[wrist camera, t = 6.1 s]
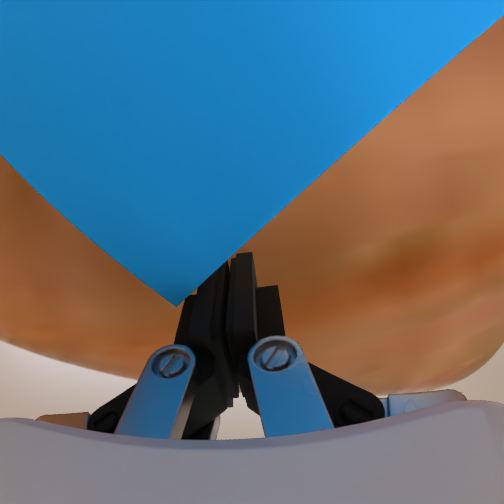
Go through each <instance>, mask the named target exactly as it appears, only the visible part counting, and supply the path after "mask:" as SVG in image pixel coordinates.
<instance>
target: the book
mask: <svg viewBox="0 0 504 504" xmlns="http://www.w3.org/2000/svg"><path fill="white" fill-rule="evenodd" d="M503 15H504V0H0V154H1V155H2V156H3V158H4V159H5V160H6V161H7V162H8V163H9V164H10V165H11V166H12V167H13V168H14V169H15V170H16V171H17V172H18V173H19V174H20V175H21V176H22V177H23V178H24V179H25V180H26V181H27V182H28V183H29V184H30V185H31V186H32V187H33V188H34V189H35V190H36V191H37V192H38V193H39V194H40V195H41V196H42V197H43V198H45V199H46V200H47V201H48V202H49V203H50V204H51V205H52V206H53V207H54V208H55V209H56V210H57V211H59V212H60V213H61V214H62V215H63V216H64V217H65V218H66V219H67V220H68V221H70V222H71V223H72V224H73V225H74V226H75V227H76V228H78V229H79V230H80V231H81V232H82V233H83V234H84V235H86V236H87V237H88V238H89V239H90V240H92V241H93V242H94V243H95V244H96V245H97V246H99V247H100V248H101V249H102V250H103V251H105V252H106V253H107V254H108V255H110V256H111V257H112V258H113V259H114V260H116V261H117V262H118V263H119V264H121V265H122V266H123V267H124V268H126V269H127V270H128V271H130V272H131V273H132V274H133V275H135V276H136V277H137V278H138V279H140V280H141V281H142V282H144V283H145V284H146V285H148V286H149V287H150V288H152V289H153V290H154V291H156V292H157V293H158V294H160V295H161V296H162V297H164V298H165V299H166V300H168V301H169V302H171V303H172V304H173V305H175V306H176V307H177V306H178V305H179V304H180V303H181V302H182V301H183V300H184V299H186V298H187V297H188V296H189V295H190V294H191V293H192V292H193V291H194V290H195V289H196V288H197V287H199V286H200V285H201V284H202V283H203V282H204V281H205V280H206V279H207V278H208V277H209V276H210V275H211V274H213V273H214V272H215V271H216V270H217V269H218V268H219V267H220V266H221V265H222V264H223V263H225V262H226V261H227V260H228V259H229V258H230V257H231V256H232V255H233V254H234V253H235V252H236V251H238V250H239V249H240V248H241V247H242V246H243V245H244V244H245V243H246V242H247V241H248V240H250V239H251V238H252V237H253V236H254V235H255V234H256V233H257V232H258V231H259V230H261V229H262V228H263V227H264V226H265V225H266V224H267V223H268V222H269V221H270V220H272V219H273V218H274V217H275V216H276V215H277V214H278V213H279V212H280V211H281V210H283V209H284V208H285V207H286V206H287V205H288V204H289V203H290V202H291V201H292V200H294V199H295V198H296V197H297V196H298V195H299V194H300V193H301V192H302V191H303V190H305V189H306V188H307V187H308V186H309V185H310V184H311V183H312V182H313V181H315V180H316V179H317V178H318V177H319V176H320V175H321V174H322V173H323V172H325V171H326V170H327V169H328V168H329V167H330V166H331V165H332V164H334V163H335V162H336V161H337V160H338V159H339V158H340V157H341V156H342V155H344V154H345V153H346V152H347V151H348V150H349V149H350V148H351V147H353V146H354V145H355V144H356V143H357V142H358V141H359V140H360V139H362V138H363V137H364V136H365V135H366V134H367V133H368V132H369V131H371V130H372V129H373V128H374V127H375V126H376V125H377V124H378V123H380V122H381V121H382V120H383V119H384V118H385V117H386V116H387V115H389V114H390V113H391V112H392V111H393V110H394V109H395V108H397V107H398V106H399V105H400V104H401V103H402V102H403V101H405V100H406V99H407V98H408V97H409V96H410V95H411V94H413V93H414V92H415V91H416V90H417V89H418V88H419V87H421V86H422V85H423V84H424V83H425V82H426V81H427V80H429V79H430V78H431V77H432V76H433V75H434V74H435V73H437V72H438V71H439V70H440V69H441V68H442V67H444V66H445V65H446V64H447V63H448V62H449V61H450V60H452V59H453V58H454V57H455V56H456V55H457V54H459V53H460V52H461V51H462V50H463V49H464V48H466V47H467V46H468V45H469V44H470V43H471V42H473V41H474V40H475V39H476V38H477V37H478V36H480V35H481V34H482V33H483V32H484V31H486V30H487V29H488V28H489V27H490V26H491V25H493V24H494V23H495V22H496V21H497V20H499V19H500V18H501V17H502V16H503Z"/></svg>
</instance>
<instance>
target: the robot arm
mask: <svg viewBox="0 0 504 504" xmlns="http://www.w3.org/2000/svg"><path fill="white" fill-rule="evenodd" d="M239 385H240V388H241V392H242V395H243V397H245V399H246V403H247V406H248V408H250V409H251V410H252V411H254V412H255V413H257V414H258V415H260V418H261V422H262V426H263V430H264V434H265V438H252V439H234V440H216V438H217V433H218V429H219V425H220V414H221V413H222V412H224V411H225V410H226V409H227V407H233V398H238V397H239ZM0 504H504V404H501V403H498V402H493V401H484V400H467V399H466V397H465V396H464V395H463V394H462V393H461V392H458V391H456V390H450V389H447V390H437V391H428V392H417V393H403V394H389V395H388V397H387V398H378V397H376V396H375V395H373V394H372V393H370V392H368V391H366V390H364V389H361V388H359V387H357V386H355V385H353V384H351V383H349V382H347V381H345V380H343V379H341V378H339V377H336V376H334V375H332V374H330V373H328V372H326V371H324V370H322V369H320V368H318V367H317V366H315V365H313V364H311V363H309V362H307V360H306V357H305V355H304V352H303V350H302V348H301V346H300V345H299V343H298V342H296V341H295V340H294V339H292V338H289V337H286V336H285V330H284V323H283V316H282V310H281V303H280V297H279V290H278V285H275V286H267V287H259V288H258V287H257V280H256V274H255V267H254V260H253V254H252V252H248V253H240V254H237V255H236V258H232V259H231V266H230V271H229V266H228V261H226V262H225V263H223V264H222V265H221V266H220V267H219V268H218V269H217V270H216V271H215V272H214V273H213V274H211V275H210V276H209V277H208V278H207V279H206V280H205V281H204V282H203V283H202V284H201V285H200V286H199V287H198V290H197V294H196V295H189V296H188V297H187V298H186V299H185V302H184V306H183V309H182V313H181V317H180V321H179V325H178V329H177V333H176V337H175V341H174V344H173V345H168V346H164V347H162V348H160V349H158V350H156V351H155V352H154V353H153V354H152V355H151V356H150V358H149V359H148V361H147V363H146V365H145V367H144V369H143V371H142V373H141V375H140V377H139V380H138V382H137V383H136V384H135V385H134V386H132V387H130V388H129V389H127V390H126V391H125V392H123V393H121V394H120V395H118V396H117V397H115V398H114V399H112V400H111V401H109V402H108V403H106V404H105V405H103V406H101V407H100V408H99V409H97V410H96V411H95V412H94V413H93V414H92V415H90V414H89V412H83V413H71V414H54V415H44V416H40V417H39V418H37V419H36V420H33V419H26V418H1V419H0Z"/></svg>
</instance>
